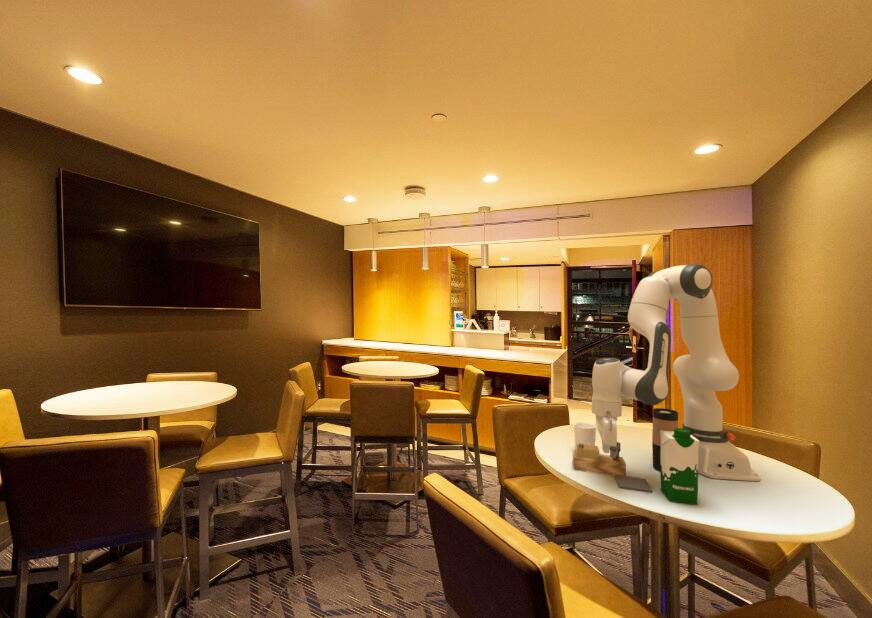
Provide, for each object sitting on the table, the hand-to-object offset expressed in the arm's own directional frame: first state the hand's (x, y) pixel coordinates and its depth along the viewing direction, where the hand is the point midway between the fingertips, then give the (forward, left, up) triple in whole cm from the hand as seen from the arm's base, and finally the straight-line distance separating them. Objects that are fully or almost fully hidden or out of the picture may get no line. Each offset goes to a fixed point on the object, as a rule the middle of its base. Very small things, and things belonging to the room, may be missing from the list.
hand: (605, 451), depth 123 cm
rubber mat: (-7, +2, -8) cm, 11 cm away
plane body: (+2, -7, -8) cm, 11 cm away
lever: (-3, -3, -1) cm, 5 cm away
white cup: (+5, -24, -9) cm, 26 cm away
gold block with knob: (+5, -7, -4) cm, 10 cm away
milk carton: (-18, +7, -9) cm, 22 cm away
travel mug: (-20, -15, -9) cm, 27 cm away
